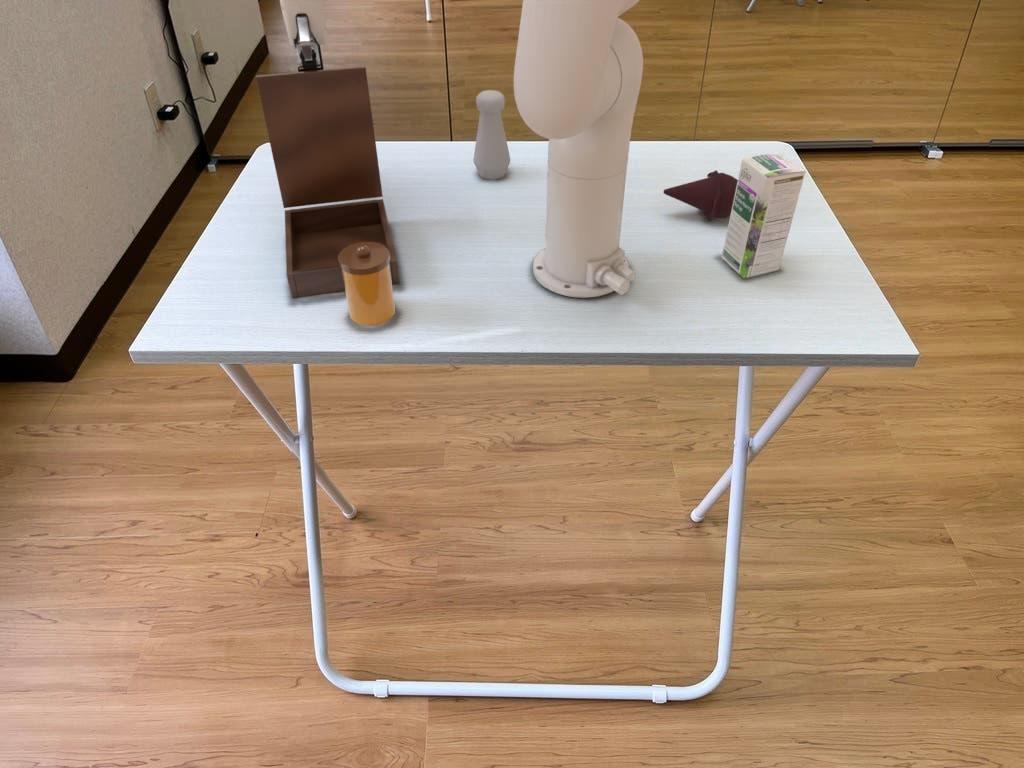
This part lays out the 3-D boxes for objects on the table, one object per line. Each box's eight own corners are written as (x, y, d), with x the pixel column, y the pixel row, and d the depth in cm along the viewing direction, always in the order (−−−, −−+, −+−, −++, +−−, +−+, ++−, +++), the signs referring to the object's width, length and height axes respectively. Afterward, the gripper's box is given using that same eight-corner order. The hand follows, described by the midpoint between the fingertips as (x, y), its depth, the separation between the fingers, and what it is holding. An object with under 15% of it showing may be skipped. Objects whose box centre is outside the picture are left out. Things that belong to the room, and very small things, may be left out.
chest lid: (365, 67, 99) (365, 65, 99) (255, 77, 96) (255, 75, 97) (382, 196, 109) (382, 194, 110) (283, 208, 107) (283, 206, 107)
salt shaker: (506, 183, 122) (505, 102, 113) (470, 180, 123) (466, 99, 114) (513, 167, 126) (512, 87, 118) (479, 164, 127) (476, 84, 119)
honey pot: (399, 327, 94) (390, 256, 88) (351, 334, 93) (338, 262, 87) (394, 300, 99) (385, 229, 92) (347, 306, 98) (334, 236, 91)
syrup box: (719, 258, 105) (739, 157, 96) (756, 249, 107) (779, 149, 97) (743, 280, 101) (766, 177, 92) (781, 271, 103) (808, 169, 93)
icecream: (671, 190, 107) (778, 199, 107) (667, 154, 111) (770, 163, 111) (659, 227, 112) (761, 235, 113) (656, 191, 116) (754, 199, 117)
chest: (400, 288, 100) (396, 260, 98) (293, 303, 98) (286, 274, 95) (386, 225, 112) (382, 198, 110) (290, 237, 110) (284, 210, 107)
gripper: (324, -41, 90) (345, 105, 101) (318, -73, 102) (337, 60, 114) (258, -37, 88) (287, 111, 100) (259, -70, 101) (285, 64, 112)
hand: (313, 83), depth 107 cm, fingers open, 9 cm apart
